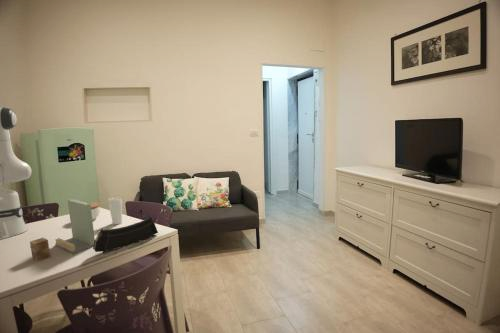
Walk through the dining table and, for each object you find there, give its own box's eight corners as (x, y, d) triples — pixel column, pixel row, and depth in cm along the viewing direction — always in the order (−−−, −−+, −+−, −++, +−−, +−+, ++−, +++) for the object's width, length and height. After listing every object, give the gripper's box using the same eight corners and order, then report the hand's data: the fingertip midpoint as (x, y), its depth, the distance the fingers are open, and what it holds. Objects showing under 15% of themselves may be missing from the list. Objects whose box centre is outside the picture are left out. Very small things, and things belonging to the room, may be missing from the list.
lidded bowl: (104, 218, 175) (102, 201, 174) (81, 224, 166) (79, 206, 165) (97, 214, 184) (95, 198, 182) (75, 219, 175) (73, 202, 173)
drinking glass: (118, 225, 163) (116, 200, 161) (108, 224, 164) (105, 200, 162) (126, 221, 169) (123, 197, 167) (116, 220, 171) (113, 197, 168)
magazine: (158, 216, 149) (99, 214, 127) (161, 217, 147) (102, 216, 125) (152, 248, 148) (91, 252, 126) (155, 250, 146) (94, 254, 124)
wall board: (73, 253, 128) (67, 209, 125) (55, 245, 138) (49, 204, 134) (95, 245, 136) (90, 203, 133) (77, 238, 146) (71, 199, 143)
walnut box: (35, 261, 121) (33, 244, 120) (31, 259, 124) (28, 241, 123) (50, 256, 126) (47, 239, 125) (45, 254, 129) (43, 237, 127)
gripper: (-19, 183, 100) (19, 202, 109) (-35, 178, 111) (1, 196, 121) (-34, 198, 97) (6, 217, 106) (-49, 192, 108) (-11, 209, 118)
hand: (3, 206), depth 114 cm, fingers open, 8 cm apart
